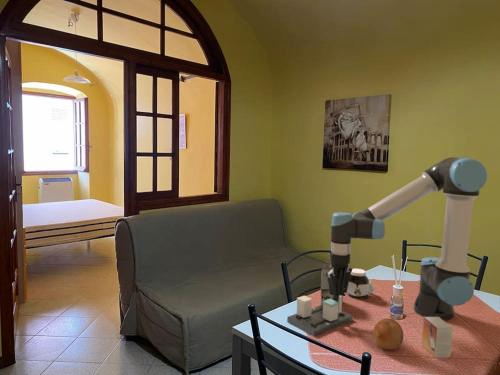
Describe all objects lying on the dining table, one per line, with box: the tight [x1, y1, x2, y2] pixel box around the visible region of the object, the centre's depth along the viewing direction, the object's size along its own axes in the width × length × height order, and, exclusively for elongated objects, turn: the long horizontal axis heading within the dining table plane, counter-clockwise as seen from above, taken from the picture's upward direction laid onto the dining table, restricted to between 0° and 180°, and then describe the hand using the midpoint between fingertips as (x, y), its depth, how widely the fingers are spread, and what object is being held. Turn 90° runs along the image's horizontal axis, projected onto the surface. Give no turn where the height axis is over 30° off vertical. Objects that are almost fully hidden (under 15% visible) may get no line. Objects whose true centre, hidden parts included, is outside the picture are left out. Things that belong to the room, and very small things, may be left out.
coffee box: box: [320, 263, 334, 305], centre depth 165 cm, size 9×6×16 cm
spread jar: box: [346, 268, 376, 299], centre depth 174 cm, size 12×11×12 cm
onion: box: [373, 318, 404, 351], centre depth 127 cm, size 10×10×10 cm
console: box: [286, 304, 354, 337], centre depth 147 cm, size 14×22×3 cm, turn 127°
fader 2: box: [323, 299, 339, 321], centre depth 144 cm, size 4×4×7 cm
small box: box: [421, 316, 454, 359], centre depth 125 cm, size 8×6×10 cm
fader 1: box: [296, 295, 313, 318], centre depth 147 cm, size 4×4×7 cm
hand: (337, 311), depth 147 cm, fingers closed
